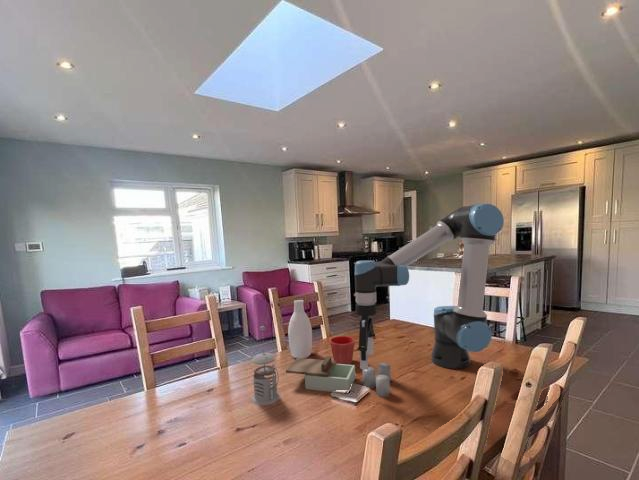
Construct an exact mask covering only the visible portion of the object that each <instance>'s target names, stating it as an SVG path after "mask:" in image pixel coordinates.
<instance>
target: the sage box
mask: <svg viewBox="0 0 639 480" xmlns="http://www.w3.org/2000/svg"><path fill="white" fill-rule="evenodd" d="M355 380H356V365H355V364H349V365H346V364H335V365H334V367H333V368H332V370H331V372H330V373H329V375H328V377H327V376H316V375H305V374H304V386H305V389H306V390H313V391H319V392H332V393H334V392H333V391H336V390H349V389H350V387H351V384H352V383H353V384H354V383H355ZM351 388H352V387H351Z"/></svg>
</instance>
